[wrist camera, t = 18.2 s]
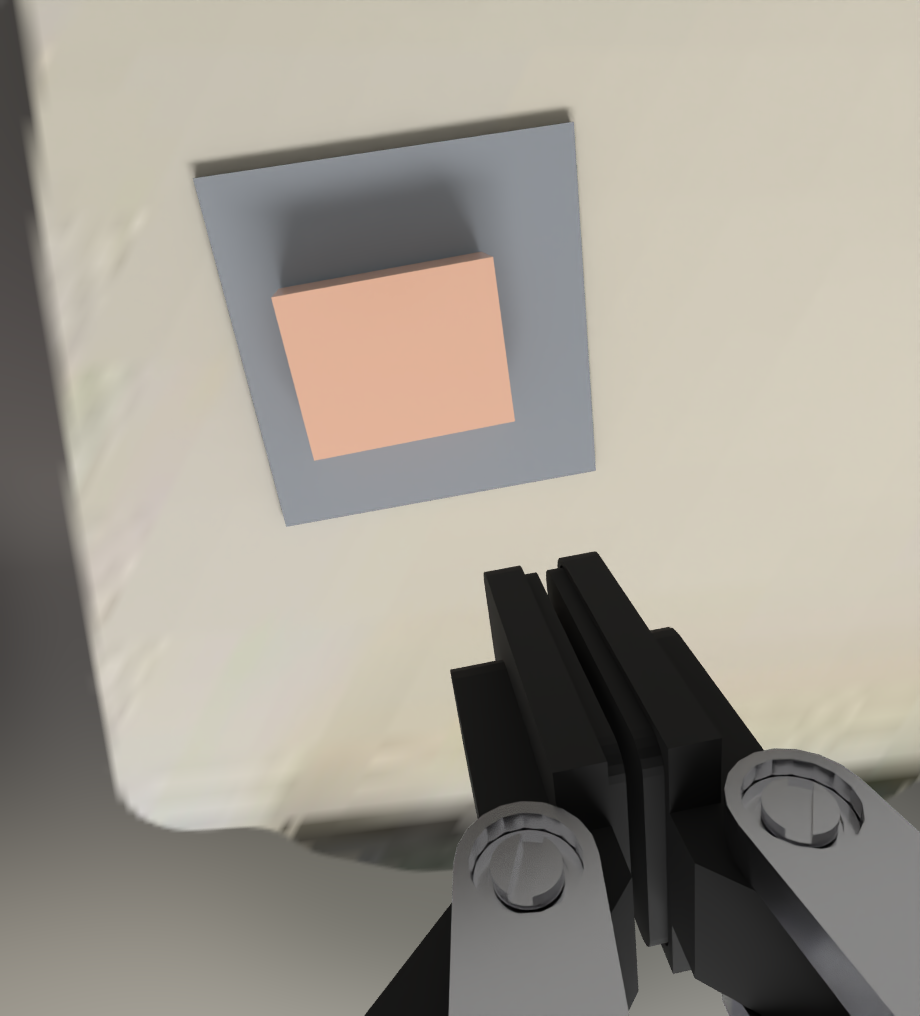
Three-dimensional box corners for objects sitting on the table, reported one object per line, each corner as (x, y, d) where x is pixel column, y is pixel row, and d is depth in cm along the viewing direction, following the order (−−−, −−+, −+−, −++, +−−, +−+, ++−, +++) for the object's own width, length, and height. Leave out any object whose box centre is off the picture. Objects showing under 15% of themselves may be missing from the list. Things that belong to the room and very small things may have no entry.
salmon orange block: (493, 256, 29) (271, 297, 28) (514, 421, 32) (314, 460, 31) (480, 251, 32) (279, 287, 31) (501, 401, 35) (318, 437, 34)
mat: (570, 122, 31) (573, 121, 30) (592, 467, 37) (595, 470, 37) (195, 178, 30) (193, 178, 29) (287, 522, 36) (286, 526, 36)
